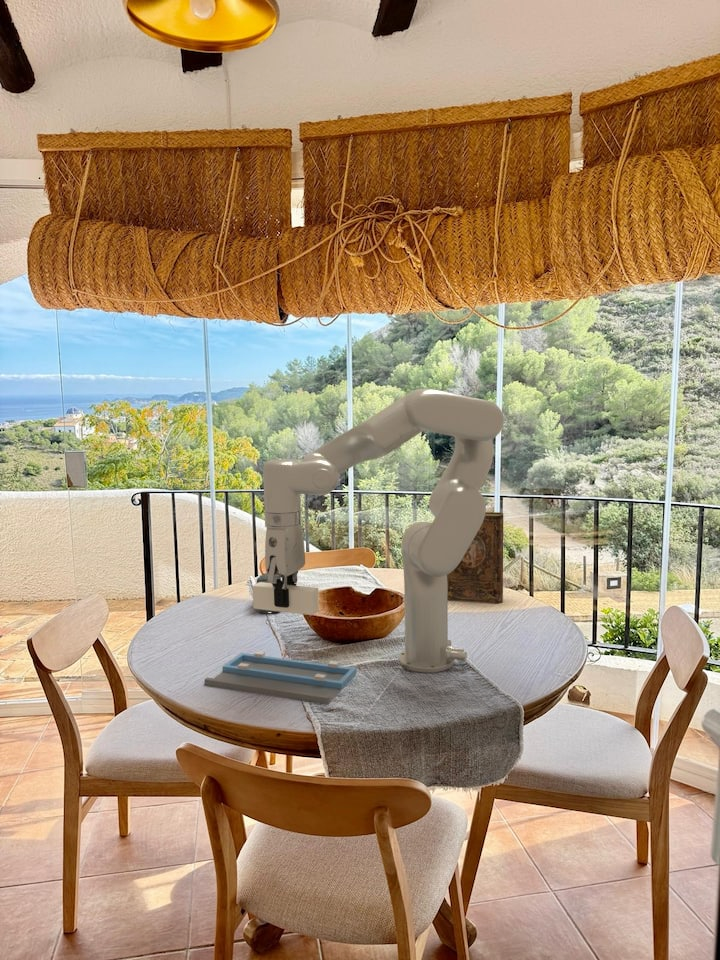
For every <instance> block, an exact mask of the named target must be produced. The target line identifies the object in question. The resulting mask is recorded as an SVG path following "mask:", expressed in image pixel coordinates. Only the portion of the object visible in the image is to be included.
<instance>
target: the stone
mask: <svg viewBox="0 0 720 960" xmlns="http://www.w3.org/2000/svg"><path fill="white" fill-rule="evenodd" d="M277 573H279V571H277ZM277 578H278V579H281V580H282V578H281V577H277ZM259 582H264V583H270V582H268V574H267V572H266V573H263V574H261V575H259V577H257V578H256V583H255V584H257V583H259ZM257 611H258V613H261V614H268V612H274V613H277V612H278V611H271V610H262V609H257Z"/></svg>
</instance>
